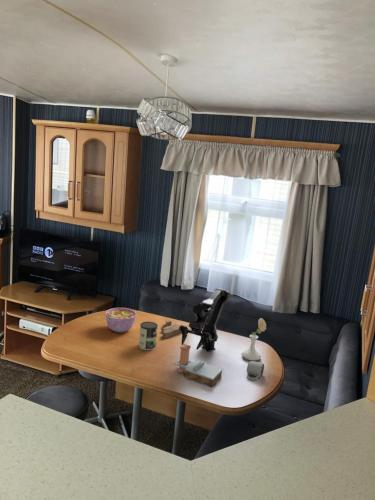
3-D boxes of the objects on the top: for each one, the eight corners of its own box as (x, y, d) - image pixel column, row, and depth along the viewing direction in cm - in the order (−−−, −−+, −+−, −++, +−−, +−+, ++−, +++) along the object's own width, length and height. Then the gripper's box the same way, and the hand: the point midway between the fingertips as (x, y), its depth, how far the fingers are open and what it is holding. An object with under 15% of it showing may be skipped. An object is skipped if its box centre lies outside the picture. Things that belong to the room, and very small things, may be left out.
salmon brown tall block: (181, 367, 218) (183, 343, 215) (188, 369, 216) (190, 346, 213) (177, 370, 214) (180, 346, 211) (184, 372, 212) (187, 348, 210)
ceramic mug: (249, 369, 222) (250, 357, 221) (263, 374, 219) (265, 361, 217) (243, 378, 213) (245, 365, 211) (258, 383, 210) (260, 370, 208)
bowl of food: (110, 322, 269) (111, 305, 267) (138, 326, 267) (139, 310, 265) (99, 333, 250) (100, 316, 248) (130, 338, 248) (131, 321, 245)
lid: (171, 365, 211) (172, 361, 211) (182, 357, 221) (182, 353, 221) (212, 380, 201) (213, 375, 200) (221, 370, 211) (222, 366, 210)
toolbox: (184, 377, 208) (185, 370, 207) (194, 367, 219) (195, 361, 218) (212, 387, 201) (212, 380, 200) (221, 377, 212) (221, 370, 211)
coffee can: (157, 344, 243) (159, 322, 240) (153, 351, 233) (154, 329, 230) (141, 341, 245) (143, 320, 242) (136, 348, 235) (138, 326, 232)
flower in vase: (248, 363, 230) (254, 323, 224) (237, 354, 239) (242, 315, 234) (266, 360, 236) (272, 321, 230) (255, 351, 245) (260, 313, 240)
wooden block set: (185, 325, 263) (165, 331, 250) (184, 333, 264) (165, 340, 251) (167, 316, 274) (147, 322, 261) (166, 324, 275) (147, 330, 262)
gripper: (181, 311, 222) (170, 336, 215) (212, 319, 214) (201, 345, 207) (187, 320, 231) (176, 344, 224) (216, 328, 223) (205, 354, 215)
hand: (189, 346), depth 217 cm, fingers open, 9 cm apart
